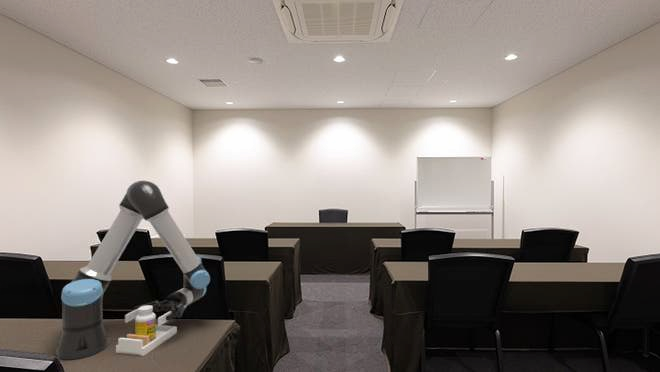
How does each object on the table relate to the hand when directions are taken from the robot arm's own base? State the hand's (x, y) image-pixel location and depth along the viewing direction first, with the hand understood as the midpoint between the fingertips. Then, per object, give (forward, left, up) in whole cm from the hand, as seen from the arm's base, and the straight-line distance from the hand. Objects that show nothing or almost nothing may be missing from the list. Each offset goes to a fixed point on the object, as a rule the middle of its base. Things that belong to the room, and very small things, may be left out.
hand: (142, 320), depth 125 cm
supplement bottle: (0, +2, -9) cm, 9 cm away
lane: (0, +3, -9) cm, 10 cm away
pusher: (0, -2, -9) cm, 9 cm away
